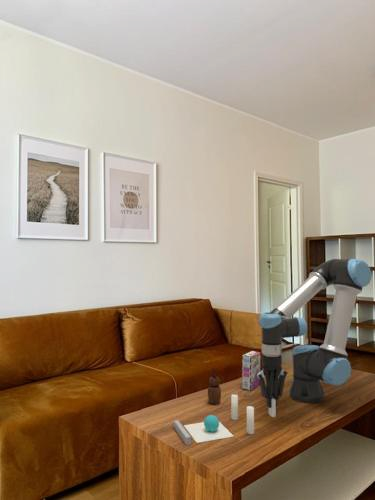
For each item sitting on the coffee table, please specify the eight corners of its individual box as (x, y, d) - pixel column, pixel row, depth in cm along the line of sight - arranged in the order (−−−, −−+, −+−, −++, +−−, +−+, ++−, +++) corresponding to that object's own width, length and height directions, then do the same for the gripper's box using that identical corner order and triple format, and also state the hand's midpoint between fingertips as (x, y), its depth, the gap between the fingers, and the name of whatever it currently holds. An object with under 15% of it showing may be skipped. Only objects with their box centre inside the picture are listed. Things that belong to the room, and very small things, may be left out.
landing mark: (217, 420, 145) (217, 419, 145) (233, 436, 132) (233, 436, 132) (183, 425, 140) (183, 425, 140) (196, 443, 127) (196, 442, 127)
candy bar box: (251, 391, 176) (251, 356, 177) (241, 389, 179) (241, 355, 180) (261, 384, 185) (260, 351, 186) (251, 383, 188) (251, 350, 189)
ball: (198, 422, 137) (209, 430, 139) (204, 428, 132) (215, 437, 133) (208, 409, 139) (218, 418, 140) (214, 415, 134) (224, 424, 135)
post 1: (236, 416, 148) (236, 393, 148) (239, 419, 146) (239, 396, 146) (230, 417, 147) (230, 394, 147) (233, 420, 145) (233, 397, 145)
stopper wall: (178, 426, 139) (177, 420, 139) (190, 444, 126) (190, 436, 126) (173, 427, 139) (173, 420, 139) (186, 445, 126) (186, 437, 126)
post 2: (251, 430, 136) (251, 405, 136) (255, 433, 134) (255, 408, 134) (245, 431, 135) (245, 406, 136) (249, 434, 133) (248, 409, 133)
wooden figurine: (207, 399, 166) (207, 365, 167) (220, 399, 166) (220, 365, 166) (208, 405, 159) (207, 370, 160) (221, 405, 159) (221, 370, 160)
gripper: (262, 358, 140) (262, 421, 139) (291, 355, 144) (292, 416, 143) (252, 353, 147) (252, 414, 146) (280, 350, 151) (281, 409, 150)
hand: (272, 415), depth 145 cm, fingers closed
